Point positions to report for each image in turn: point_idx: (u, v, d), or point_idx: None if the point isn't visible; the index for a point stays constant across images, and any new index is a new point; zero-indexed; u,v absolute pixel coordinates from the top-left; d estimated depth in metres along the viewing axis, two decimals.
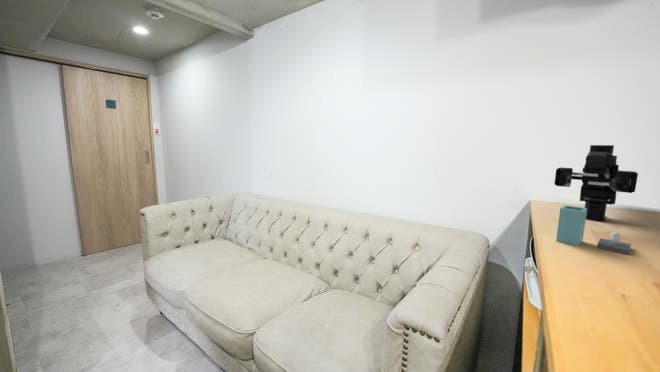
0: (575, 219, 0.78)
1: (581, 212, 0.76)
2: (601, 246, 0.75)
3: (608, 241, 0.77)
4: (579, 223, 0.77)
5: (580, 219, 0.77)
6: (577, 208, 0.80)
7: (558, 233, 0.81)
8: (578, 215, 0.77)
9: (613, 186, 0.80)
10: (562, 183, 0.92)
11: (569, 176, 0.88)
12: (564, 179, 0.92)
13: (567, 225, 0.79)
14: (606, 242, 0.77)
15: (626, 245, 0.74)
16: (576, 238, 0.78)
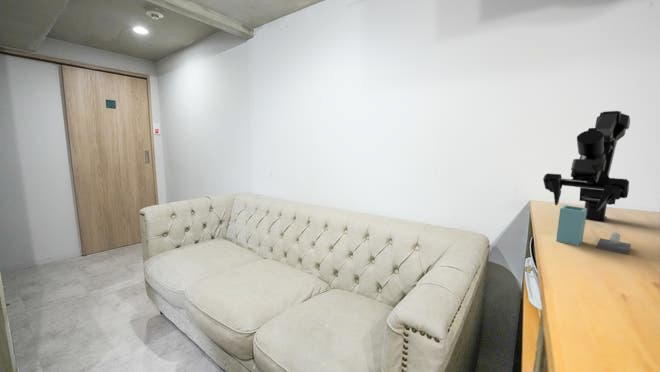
0: (575, 219, 0.78)
1: (581, 212, 0.76)
2: (601, 246, 0.75)
3: (608, 241, 0.77)
4: (579, 223, 0.77)
5: (580, 219, 0.77)
6: (577, 208, 0.80)
7: (558, 233, 0.81)
8: (578, 215, 0.77)
9: (601, 208, 0.77)
10: (552, 190, 0.89)
11: (556, 194, 0.85)
12: None
13: (567, 225, 0.79)
14: (606, 242, 0.77)
15: (626, 245, 0.74)
16: (576, 238, 0.78)
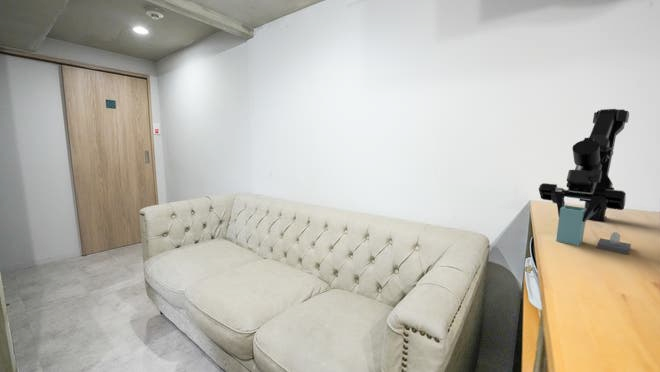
0: (575, 219, 0.78)
1: (581, 212, 0.76)
2: (601, 246, 0.75)
3: (608, 241, 0.77)
4: (579, 223, 0.77)
5: (580, 219, 0.77)
6: (577, 208, 0.80)
7: (558, 233, 0.81)
8: (578, 215, 0.77)
9: (587, 218, 0.77)
10: (556, 201, 0.86)
11: (560, 206, 0.82)
12: None
13: (567, 225, 0.79)
14: (606, 242, 0.77)
15: (626, 245, 0.74)
16: (576, 238, 0.78)
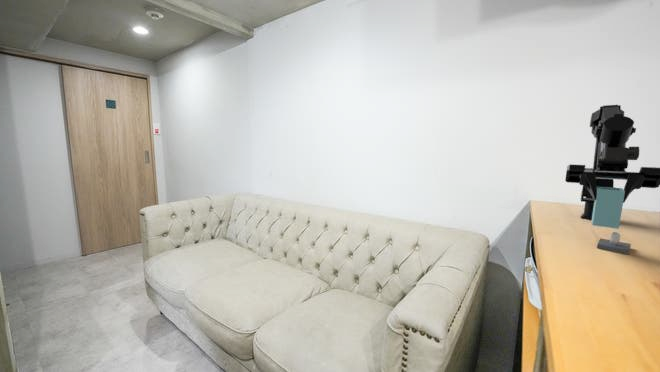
0: (615, 200, 0.72)
1: (622, 192, 0.71)
2: (601, 246, 0.75)
3: (608, 241, 0.77)
4: (620, 204, 0.72)
5: (621, 200, 0.71)
6: (611, 189, 0.75)
7: (595, 216, 0.75)
8: (619, 196, 0.71)
9: None
10: (583, 183, 0.81)
11: (594, 187, 0.76)
12: (586, 180, 0.80)
13: (606, 207, 0.73)
14: (606, 242, 0.77)
15: (626, 245, 0.74)
16: (616, 220, 0.72)
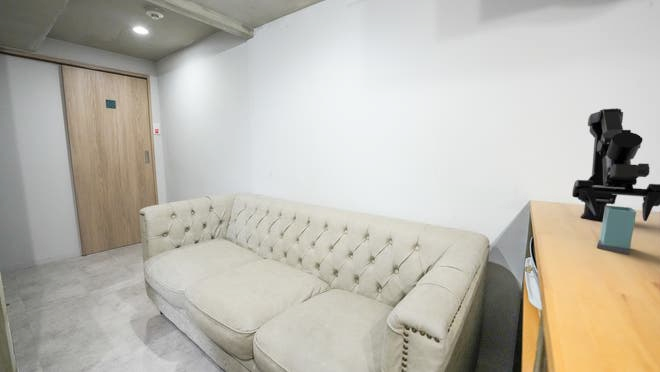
0: (626, 220, 0.72)
1: (634, 213, 0.71)
2: (601, 246, 0.75)
3: None
4: (631, 224, 0.71)
5: (632, 220, 0.71)
6: (620, 208, 0.75)
7: (606, 236, 0.74)
8: (630, 216, 0.71)
9: (647, 217, 0.71)
10: (582, 198, 0.81)
11: (594, 203, 0.77)
12: (585, 195, 0.80)
13: (617, 227, 0.73)
14: None
15: None
16: (627, 241, 0.72)
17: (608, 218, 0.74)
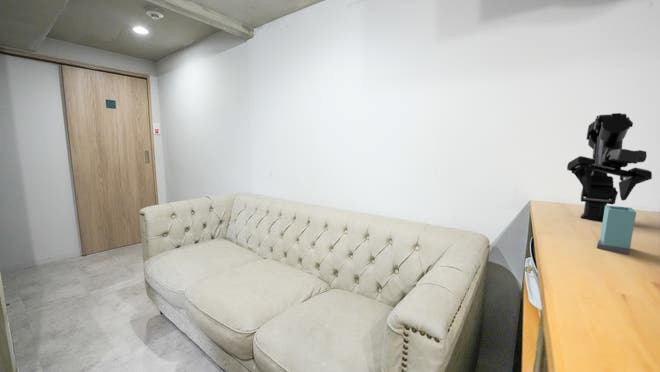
0: (626, 220, 0.72)
1: (634, 213, 0.71)
2: (601, 246, 0.75)
3: None
4: (631, 224, 0.71)
5: (632, 220, 0.71)
6: (620, 208, 0.75)
7: (606, 236, 0.74)
8: (630, 216, 0.71)
9: None
10: (576, 172, 0.88)
11: (589, 181, 0.83)
12: (580, 171, 0.86)
13: (617, 227, 0.73)
14: None
15: None
16: (627, 241, 0.72)
17: (608, 218, 0.74)
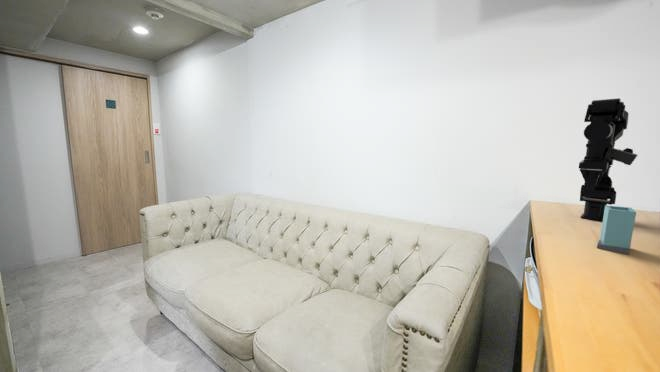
0: (626, 220, 0.72)
1: (634, 213, 0.71)
2: (601, 246, 0.75)
3: None
4: (631, 224, 0.71)
5: (632, 220, 0.71)
6: (620, 208, 0.75)
7: (606, 236, 0.74)
8: (630, 216, 0.71)
9: None
10: (584, 170, 0.86)
11: (596, 181, 0.86)
12: (590, 171, 0.85)
13: (617, 227, 0.73)
14: None
15: None
16: (627, 241, 0.72)
17: (608, 218, 0.74)
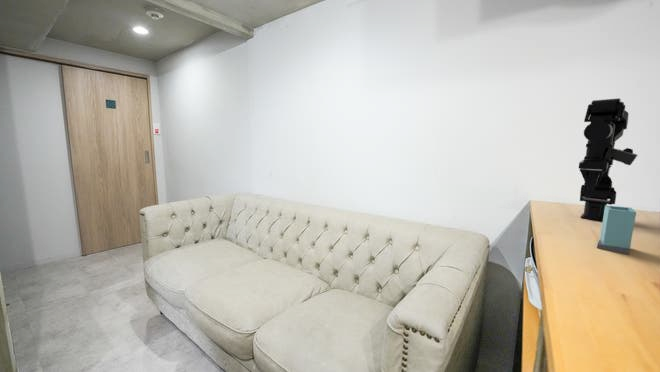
0: (626, 220, 0.72)
1: (634, 213, 0.71)
2: (601, 246, 0.75)
3: None
4: (631, 224, 0.71)
5: (632, 220, 0.71)
6: (620, 208, 0.75)
7: (606, 236, 0.74)
8: (630, 216, 0.71)
9: None
10: (584, 170, 0.86)
11: (596, 181, 0.86)
12: None
13: (617, 227, 0.73)
14: None
15: None
16: (627, 241, 0.72)
17: (608, 218, 0.74)
